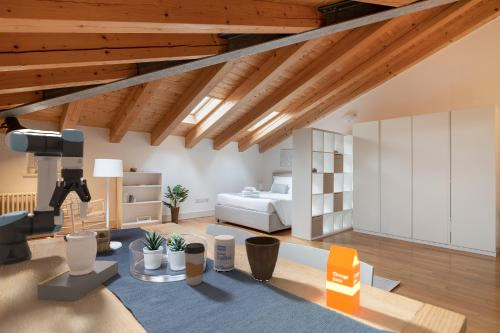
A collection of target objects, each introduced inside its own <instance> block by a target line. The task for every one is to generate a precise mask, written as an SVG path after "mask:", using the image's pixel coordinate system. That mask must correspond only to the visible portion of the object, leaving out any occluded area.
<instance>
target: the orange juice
mask: <svg viewBox="0 0 500 333" xmlns="http://www.w3.org/2000/svg"><path fill="white" fill-rule="evenodd" d="M329 249H330V250H329V253H328V257H327V261H326V281H325V283H326V284H325V285H326V287H325V289H326V297H325V298H326V299H325V300H326V303H325V304H326V305H325V306H326V307H329V308H333V309H335V310H338V311H341V312H343V313H345V314H349V315H353V314H354V313H355V312H356V311H357V309H358V308H359V307H360V305H361V304H360V302H361V300H360V297H361V295H360V294H361V293H360V291H361V288H360V287H361V263H360V260H359V256H358V252H357V249H355V248H349V247H345V246H340V245H334V244H331V246H330V248H329ZM354 311H355V312H354Z"/></svg>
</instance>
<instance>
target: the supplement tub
mask: <svg viewBox="0 0 500 333" xmlns="http://www.w3.org/2000/svg"><path fill="white" fill-rule="evenodd" d="M213 242H214V243H213V270H214V269H215V270H214V271H216V270H217V271H216V272H218V271H228V270H232V269H233V270H234V269H235V256H236V255H235V254H236V250H235V248H236V240H235V236H234V235H230V234H229V235H228V234H219V235H216V236H214V241H213ZM233 270H232V271H233Z"/></svg>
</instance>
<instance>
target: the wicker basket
mask: <svg viewBox="0 0 500 333" xmlns="http://www.w3.org/2000/svg"><path fill="white" fill-rule="evenodd" d="M85 231H93V232H97V236H96V241H97V253H96V255H97V254H100V255H102V254H106V253H109V250H110V248H111V237H112V236H111V227H110V226H108V227H93V228H87V229H86V230H85Z"/></svg>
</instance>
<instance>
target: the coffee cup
mask: <svg viewBox="0 0 500 333" xmlns="http://www.w3.org/2000/svg"><path fill="white" fill-rule="evenodd" d="M205 248H206V247H205V244H204V243H201V242H191V243H187V244H185V247H184V250H183V252H184V268H185V278H186V279H185V280H186V283H187V285H189V286H197V285H200V284H201V283H202V282H203V277H204V276H203V275H204V266H205V265H204V263H205V252H206V249H205Z"/></svg>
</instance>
